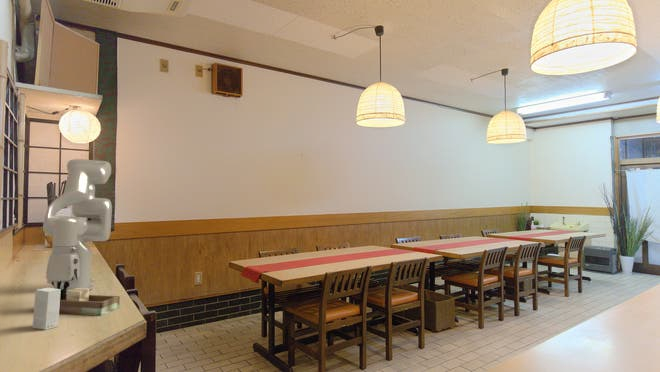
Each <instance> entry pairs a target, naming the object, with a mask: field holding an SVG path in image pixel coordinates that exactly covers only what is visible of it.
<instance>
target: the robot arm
mask: <svg viewBox="0 0 660 372" xmlns="http://www.w3.org/2000/svg"><path fill="white" fill-rule="evenodd" d="M66 170H67V176H66V181H65V182H66V183H65V186H64V190H63V193H62V194H61V195H59V196H58V197H57V198H55V199H54V200H52V202H51V203H50V204H49V205H48V207H47V209H46V212H45V216H44V219H43V225H42V230H43V233H44V234H46V235H47V236H52V246H51V247H52V249H51V254H50V255H49V257H48V260H47V261H48V262H47V265H46V274H45V276H46V280H47V281H46V283H47V284H50V285H52V286H53V288H54V289H61V293H60V300H64V299H65V298H66V294H67V291H68V290H72V289H75V288H85V289H89V291H90V290H92V289H93V287H94V286H93V285H92V284H91V283H94V282H95V281H96V278H95V277H92V278H91V277H90V274H91V265H92V264H91V263H92V262H91V261H92V249H91V247H90V246H89V245H88V243H87V242H106V241H108V240H109V239H110V235H111V229H112V218H113V217H112V214H113V205H112V202H111V200H110V199H109V198H104V197H96V196H95V195H96V194H95V193H96V185H104V184H106V183H107V182H108V181H109V178H110V177H111V175H112V165H111V163H110V162H109V161H106V160H96V159H94V160H93V159H83V158H74V159H70V160H69V161H67V163H66ZM68 207H71V212H72V215H73V216H63V215H62V216H61V215H59V216H58V215H57V213H58V212H59V211H61V210H62V209H64V208H65V209H66V208H68ZM85 218H86V219H87V218H88V219H99V220H86V219H85Z"/></svg>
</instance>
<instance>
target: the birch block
mask: <svg viewBox="0 0 660 372" xmlns="http://www.w3.org/2000/svg"><path fill="white" fill-rule="evenodd" d="M66 294H67V298H66V300H72V301H89V295H90V290H89V289H85V288H75V289H72V290H68V291H67V292H66Z"/></svg>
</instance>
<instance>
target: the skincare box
mask: <svg viewBox="0 0 660 372" xmlns="http://www.w3.org/2000/svg"><path fill="white" fill-rule="evenodd" d="M60 293H61V289H54V287H44V288H43V287H42V288H38V289H35V295H34V307H33V316H32V317H33V318H32V329H33V328H34V329H38V330H44V331H46V330H50V329H54V328H57V327H59V319H60V314H59V307H60Z"/></svg>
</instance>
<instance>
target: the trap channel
mask: <svg viewBox="0 0 660 372" xmlns="http://www.w3.org/2000/svg"><path fill="white" fill-rule="evenodd" d="M66 298H67V293H66ZM66 298H65V299H64V300H60V307H59V315H60V314H61V315H82V316H99V317H100V316H101V317H102V316H105V315H106V314H108V313H111V312H113V311H116V310H119V309H120V301H121V300H120V298H121V297H120V296H119V295H118V296H117V295H102V294H101V295H98V294H89V301H72V300H66Z"/></svg>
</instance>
